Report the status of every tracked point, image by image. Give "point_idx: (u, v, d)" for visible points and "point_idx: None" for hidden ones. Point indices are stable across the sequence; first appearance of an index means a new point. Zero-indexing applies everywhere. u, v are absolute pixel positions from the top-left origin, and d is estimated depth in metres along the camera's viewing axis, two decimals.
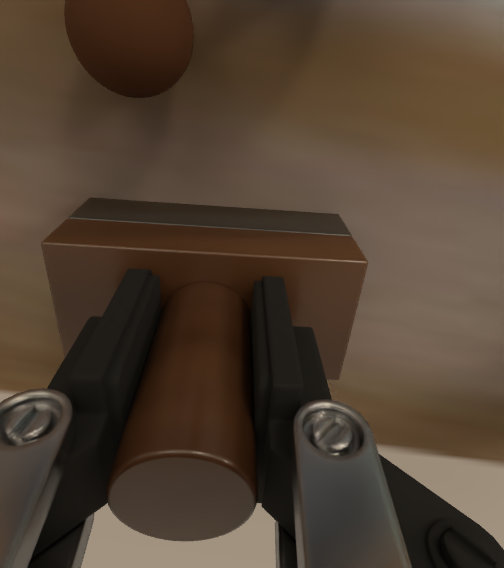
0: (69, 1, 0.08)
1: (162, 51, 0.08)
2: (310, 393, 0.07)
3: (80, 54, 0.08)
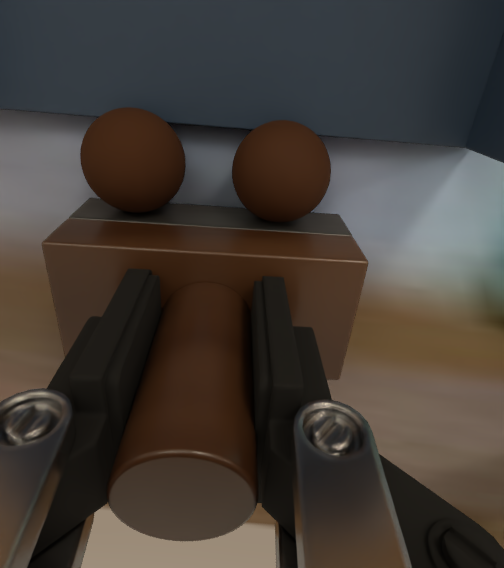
0: None
1: None
2: (310, 393, 0.07)
3: None
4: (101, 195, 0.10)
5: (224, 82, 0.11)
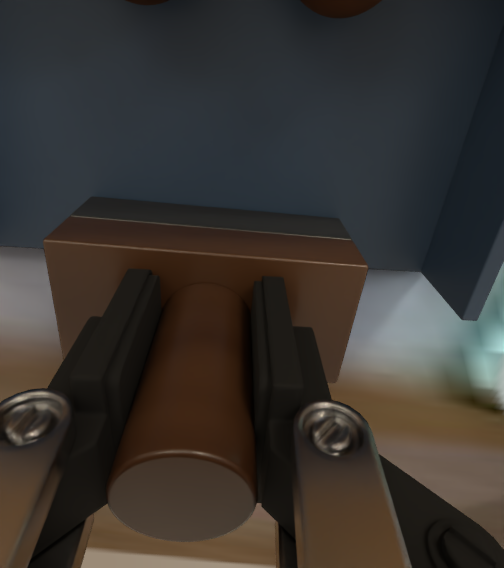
0: None
1: None
2: (310, 393, 0.07)
3: None
4: None
5: None
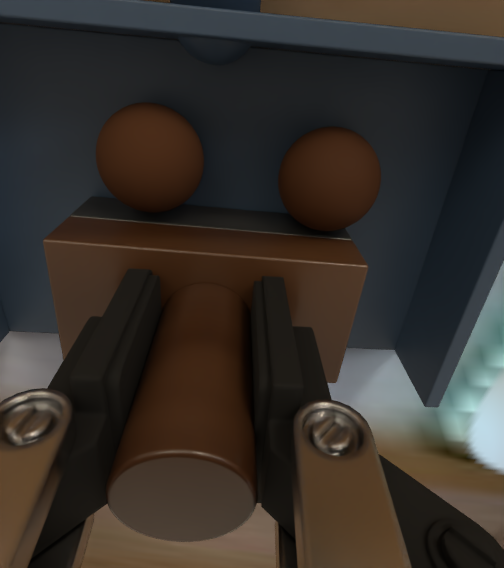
0: None
1: None
2: (310, 393, 0.07)
3: None
4: (116, 197, 0.10)
5: None
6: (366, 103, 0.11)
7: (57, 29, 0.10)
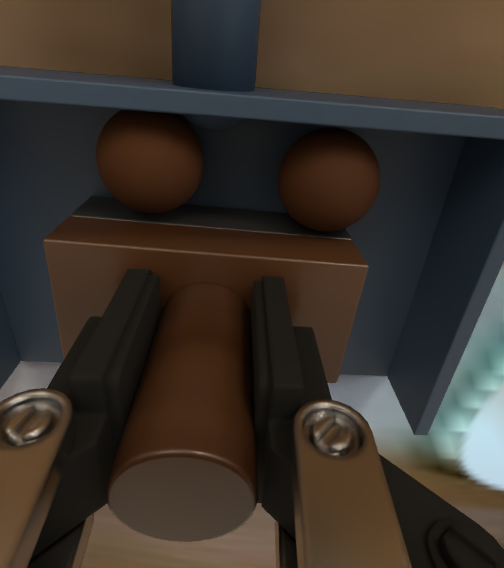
0: None
1: None
2: (310, 393, 0.07)
3: None
4: (105, 170, 0.10)
5: None
6: None
7: None
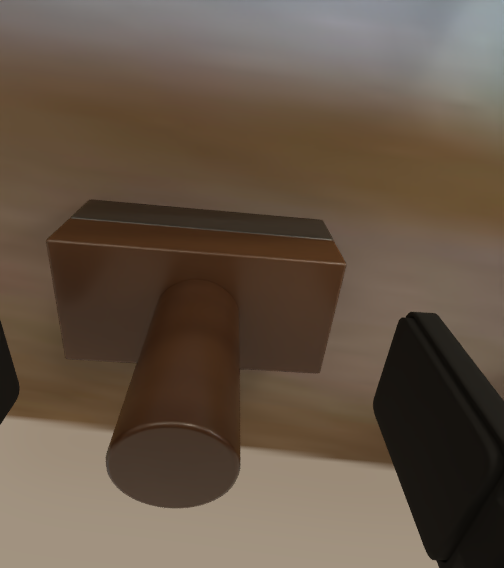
0: None
1: None
2: None
3: None
4: None
5: None
6: None
7: None
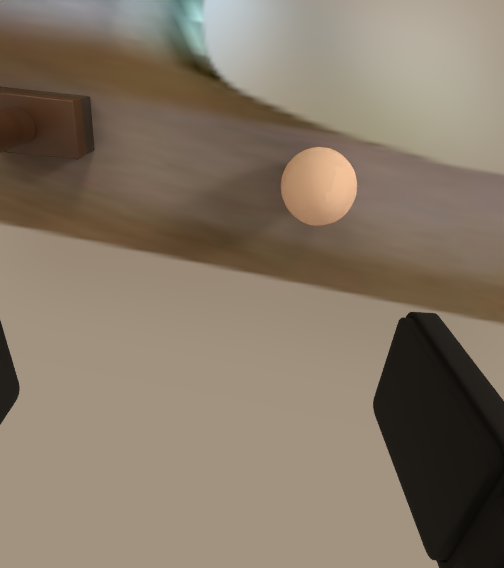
0: None
1: None
2: None
3: None
4: None
5: None
6: None
7: None
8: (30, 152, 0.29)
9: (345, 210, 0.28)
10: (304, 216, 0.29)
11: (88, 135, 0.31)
